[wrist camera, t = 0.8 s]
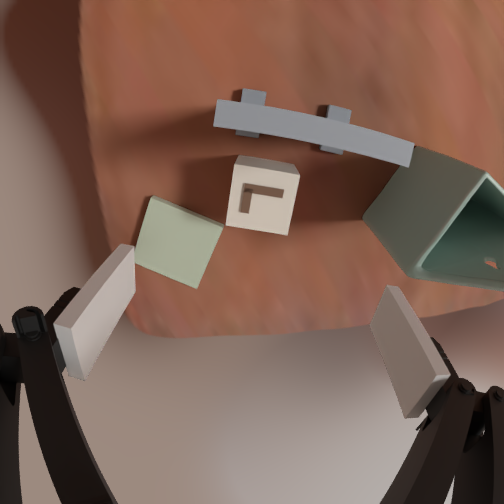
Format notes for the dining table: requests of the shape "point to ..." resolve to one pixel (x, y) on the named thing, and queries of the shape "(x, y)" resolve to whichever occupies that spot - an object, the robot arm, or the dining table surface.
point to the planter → (442, 221)
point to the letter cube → (262, 194)
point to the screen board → (310, 128)
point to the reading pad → (176, 241)
